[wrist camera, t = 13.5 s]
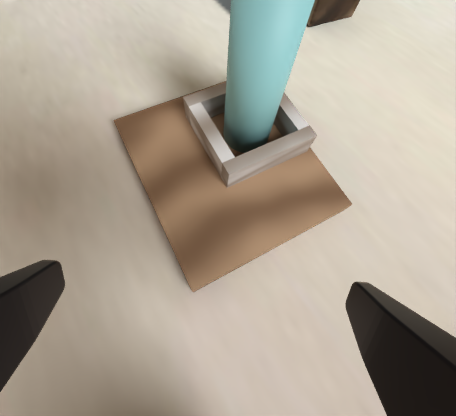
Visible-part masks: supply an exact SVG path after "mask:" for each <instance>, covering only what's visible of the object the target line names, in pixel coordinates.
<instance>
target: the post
mask: <svg viewBox="0 0 456 416" xmlns="http://www.w3.org/2000/svg"><path fill="white" fill-rule="evenodd" d="M314 1H315V0H231V12H230V29H229V46H228V63H227V80H226V97H225V114H224V131H223V135H224V139H225V141H226V143H227V144H228V145H229V146H230V147H231V148H232V149H234V150H236V151H238V152H242V153H246V152H249V151H251V150H253V149H256V148H258V147H260V146H263V145H265V144H266V143H267V141H268V138H269V135H270V132H271V129H272V126H273V123H274V120H275V117H276V114H277V111H278V108H279V105H280V102H281V99H282V96H283V93H284V90H285V87H286V84H287V81H288V78H289V75H290V72H291V69H292V66H293V63H294V60H295V57H296V54H297V51H298V49H299V46H300V43H301V40H302V37H303V34H304V31H305V28H306V25H307V22H308V19H309V16H310V13H311V10H312V7H313V4H314Z"/></svg>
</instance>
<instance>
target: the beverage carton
mask: <svg viewBox="0 0 456 416" xmlns="http://www.w3.org/2000/svg"><path fill="white" fill-rule="evenodd" d="M359 1H360V0H315V1H314V4H313V7H312V10H311V13H310V16H309V19H308V22H307V24H308V26H309V27H311V26H315V25H319V24H322V23H327V22H330V21H336V20H339V19H343V18H348V17H351V16H352V15H353V13H354V11H355V9H356V7H357V5H358V3H359Z"/></svg>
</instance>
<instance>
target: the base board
mask: <svg viewBox="0 0 456 416" xmlns="http://www.w3.org/2000/svg"><path fill="white" fill-rule="evenodd" d="M225 97H226V81H225V82H222V83H219V84H216V85H214V86H211V87H208V88H205V89H202V90H199V91H196V92H193V93H191V94H188V95H185V96H182V97H179V98H176V99H173V100H170V101H168V102H165V103H162V104H159V105H156V106H153V107H150V108H147V109H145V110H142V111H139V112H136V113H133V114H130V115H127V116H124V117H122V118H119V119H116V120H114V122H115V125H116V127H117V129H118V131H119V133H120V135H121V138H122V140H123V142H124V144H125V146H126V149H127V151H128V153H129V155H130V157H131V159H132V162H133V164H134V166H135V168H136V170H137V172H138V175H139V177H140V179H141V181H142V183H143V186H144V188H145V190H146V192H147V194H148V196H149V199H150V201H151V203H152V205H153V207H154V209H155V212H156V214H157V216H158V218H159V220H160V223H161V225H162V227H163V229H164V231H165V233H166V236H167V238H168V240H169V242H170V244H171V246H172V249H173V251H174V253H175V255H176V257H177V260H178V262H179V264H180V266H181V268H182V270H183V273H184V275H185V277H186V279H187V281H188V283H189V286H190V288H191V290H192V292H195V291H197V290H198V289H200V288H202V287H204V286H206V285H208V284H209V283H211V282H213V281H215V280H217V279H219V278H220V277H222V276H224V275H226V274H228V273H230V272H231V271H233V270H235V269H237V268H239V267H241V266H242V265H244V264H246V263H248V262H250V261H252V260H253V259H255V258H257V257H259V256H261V255H263V254H264V253H266V252H268V251H270V250H272V249H274V248H275V247H277V246H279V245H281V244H283V243H285V242H286V241H288V240H290V239H292V238H294V237H296V236H297V235H299V234H301V233H303V232H305V231H307V230H308V229H310V228H312V227H314V226H316V225H318V224H319V223H321V222H323V221H325V220H327V219H329V218H330V217H332V216H334V215H336V214H338V213H340V212H341V211H343V210H345V209H346V208H348V207H349V206H351V205H352V203H351V202H350V200H349V199H348V198H347V196H346V195H345V194H344V192H343V191H342V190H341V188H340V187H339V186H338V184H337V183H336V182H335V180H334V179H333V178H332V176H331V175H330V174H329V172H328V171H327V170H326V168H325V167H324V166H323V164H322V163H321V162H320V160H319V159H318V158H317V156H316V155H315V154H314V152H313V151H312V150H311V148H310V146H311V144H312V143H313V141H314V139H315V138H316V136H317V135H316V133H315V132H314V131H313V129H312V128H311V127H310V125H309V124H308V123H307V122H306V120H305V119H304V118H303V116H302V115H301V114H300V112H299V111H298V110H297V109H296V107H295V106H294V105H293V103H292V102H291V101H290V100H289V98H288V97H287V96H286V94H285V93H283V96H282V99H281V102H280V105H279V108H278V111H277V114H276V117H275V120H274V123H273V126H272V129H271V132H270V135H269V138H268V141H267V143H266V144H265V145H263V146H260V147H258V148H256V149H253V150H251V151H249V152H246V153H242V152H238V151H236V150H234V149H232V148H231V147H230V146H229V145H228V144H227V143H226V141H225V139H224V135H223V131H224V114H225Z"/></svg>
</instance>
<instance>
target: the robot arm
mask: <svg viewBox="0 0 456 416" xmlns="http://www.w3.org/2000/svg"><path fill="white" fill-rule="evenodd" d="M64 287H65V280H64V276H63V271H62V267H61V264H60V262H59V261H55V260H42V261H39V262H37V263H34V264H32V265H29V266H27V267H24V268H22V269H19V270H17V271H14V272H12V273H10V274H7V275H5V276H2V277H0V392H1V390H2V389H3V387H4V386H5V384H6V383H7V382H8V380H9V379H10V377H11V376H12V374H13V373H14V371H15V370H16V368H17V367H18V365H19V364H20V362H21V361H22V360H23V358H24V357H25V355H26V354H27V352H28V351H29V349H30V348H31V346H32V345H33V343H34V342H35V340H36V338H37V337H38V335H39V333H40V332H41V330H42V328H43V326H44V325H45V323H46V321H47V319H48V317H49V316H50V314H51V312H52V310H53V308H54V307H55V305H56V303H57V301H58V299H59V298H60V296H61V294H62V292H63V290H64ZM346 311H347V314H348V317H349V320H350V323H351V326H352V329H353V332H354V335H355V338H356V341H357V344H358V347H359V350H360V353H361V356H362V359H363V361H364V363H365V366H366V368H367V371H368V373H369V375H370V378H371V380H372V382H373V384H374V387H375V389H376V391H377V394H378V396H379V398H380V400H381V403H382V405H383V407H384V410H385V412H386V414H387V416H456V338H455V337H454V336H452V335H450V334H449V333H447V332H446V331H444V330H442V329H441V328H439V327H438V326H436V325H435V324H433V323H431V322H430V321H428V320H427V319H425V318H423V317H422V316H420V315H419V314H417V313H416V312H414V311H412V310H411V309H409V308H408V307H406V306H404V305H403V304H401V303H400V302H398V301H396V300H395V299H393V298H392V297H390V296H389V295H387V294H385V293H384V292H382V291H381V290H379V289H377V288H376V287H374V286H373V285H371V284H369V283H367V282H354V283H353V284H352V286H351V289H350V291H349V294H348V297H347V300H346Z"/></svg>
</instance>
